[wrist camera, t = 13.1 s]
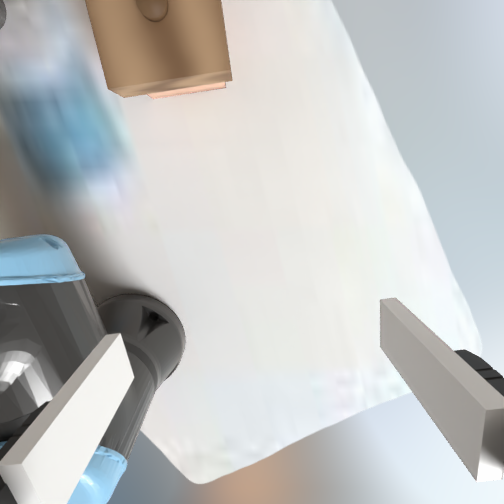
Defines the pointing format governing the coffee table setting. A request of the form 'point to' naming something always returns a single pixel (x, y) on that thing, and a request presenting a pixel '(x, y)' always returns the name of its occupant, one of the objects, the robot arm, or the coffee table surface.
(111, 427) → the robot arm
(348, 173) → the coffee table surface
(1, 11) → the beverage cup
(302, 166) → the coffee table surface
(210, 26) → the lid
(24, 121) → the coffee table surface
